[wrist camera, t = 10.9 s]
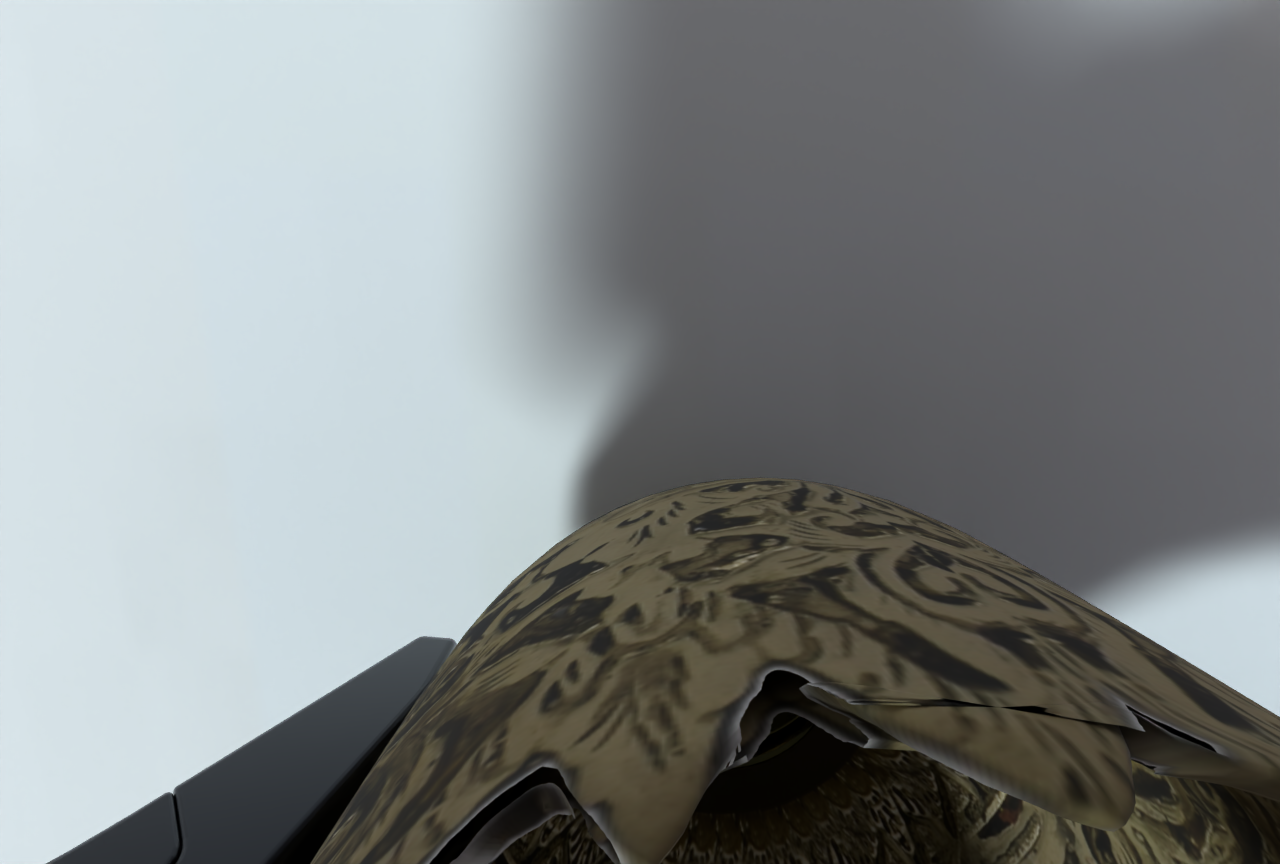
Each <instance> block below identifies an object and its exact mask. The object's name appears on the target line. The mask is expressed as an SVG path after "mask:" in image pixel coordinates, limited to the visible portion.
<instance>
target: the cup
mask: <svg viewBox="0 0 1280 864" xmlns="http://www.w3.org/2000/svg"><path fill="white" fill-rule="evenodd" d="M310 864H1280V717H1279V716H1277V715H1275V714H1274V713H1272V712H1270V711H1269V710H1267V709H1265V708H1264V707H1262V706H1260V705H1259V704H1257V703H1256V702H1254V701H1252V700H1251V699H1249V698H1247V697H1246V696H1244V695H1242V694H1241V693H1239V692H1237V691H1236V690H1234V689H1232V688H1231V687H1229V686H1227V685H1226V684H1224V683H1222V682H1221V681H1219V680H1217V679H1216V678H1214V677H1212V676H1211V675H1209V674H1207V673H1206V672H1204V671H1202V670H1201V669H1199V668H1197V667H1196V666H1194V665H1192V664H1191V663H1189V662H1187V661H1186V660H1184V659H1182V658H1181V657H1179V656H1177V655H1176V654H1174V653H1172V652H1171V651H1169V650H1167V649H1166V648H1164V647H1162V646H1161V645H1159V644H1157V643H1156V642H1154V641H1152V640H1151V639H1149V638H1147V637H1146V636H1144V635H1142V634H1141V633H1139V632H1137V631H1136V630H1134V629H1132V628H1131V627H1129V626H1127V625H1125V624H1124V623H1122V622H1120V621H1119V620H1117V619H1115V618H1114V617H1112V616H1110V615H1108V614H1107V613H1105V612H1103V611H1102V610H1100V609H1098V608H1097V607H1095V606H1093V605H1092V604H1090V603H1088V602H1086V601H1085V600H1083V599H1081V598H1080V597H1078V596H1076V595H1074V594H1073V593H1071V592H1069V591H1068V590H1066V589H1064V588H1062V587H1061V586H1059V585H1057V584H1055V583H1054V582H1052V581H1050V580H1049V579H1047V578H1045V577H1043V576H1042V575H1040V574H1038V573H1037V572H1035V571H1033V570H1031V569H1029V568H1028V567H1026V566H1024V565H1022V564H1020V563H1019V562H1017V561H1015V560H1013V559H1011V558H1010V557H1008V556H1006V555H1004V554H1002V553H1000V552H999V551H997V550H995V549H993V548H991V547H989V546H988V545H986V544H984V543H982V542H980V541H978V540H976V539H974V538H973V537H971V536H969V535H967V534H965V533H963V532H961V531H959V530H958V529H955V528H953V527H951V526H949V525H946V524H944V523H942V522H939V521H937V520H935V519H932V518H930V517H928V516H926V515H923V514H921V513H918V512H916V511H913V510H911V509H908V508H906V507H904V506H901V505H899V504H896V503H894V502H891V501H889V500H885V499H881V498H878V497H874V496H871V495H867V494H864V493H860V492H857V491H853V490H849V489H845V488H841V487H837V486H833V485H827V484H821V483H815V482H809V481H802V480H796V479H777V478H743V479H725V480H717V481H711V482H705V483H699V484H692V485H686V486H683V487H679V488H675V489H672V490H668V491H664V492H661V493H657V494H653V495H650V496H647V497H645V498H642V499H640V500H637V501H635V502H632V503H630V504H627V505H624V506H622V507H619V508H617V509H615V510H613V511H611V512H609V513H607V514H605V515H603V516H601V517H599V518H597V519H596V520H594V521H592V522H590V523H588V524H586V525H584V526H583V527H581V528H580V529H578V530H577V531H575V532H574V533H572V534H571V535H569V536H568V537H566V538H565V539H563V540H562V541H560V542H559V543H557V544H556V545H555V546H553V547H552V548H551V549H550V550H549V551H547V552H546V553H545V554H544V555H543V556H541V557H540V558H539V559H538V560H537V561H535V562H534V563H533V564H532V565H531V566H530V567H528V568H527V569H526V570H525V571H524V572H522V573H521V574H520V575H519V576H518V577H517V578H515V579H514V580H513V581H512V582H511V583H510V584H509V585H508V586H507V587H506V588H505V589H504V590H503V592H502V593H501V594H500V595H499V596H498V597H497V598H496V599H495V600H494V601H493V602H492V603H491V604H490V605H489V606H488V607H487V609H486V610H485V611H484V612H483V613H482V614H481V616H480V617H479V618H478V619H477V620H476V622H475V623H474V624H473V625H472V626H471V627H470V629H469V630H468V631H467V632H466V633H465V635H464V636H463V638H462V639H461V640H460V642H459V643H458V644H457V646H456V647H455V648H454V650H453V651H452V652H451V654H450V655H449V657H448V658H447V659H446V661H445V662H444V663H443V665H442V666H441V667H440V669H439V670H438V672H437V673H436V674H435V676H434V677H433V679H432V680H431V681H430V683H429V684H428V686H427V687H426V688H425V690H424V691H423V693H422V694H421V695H420V697H419V698H418V700H417V701H416V702H415V704H414V705H413V707H412V708H411V710H410V712H409V713H408V715H407V716H406V718H405V719H404V721H403V722H402V724H401V725H400V727H399V728H398V730H397V731H396V733H395V734H394V736H393V737H392V739H391V740H390V742H389V743H388V745H387V746H386V748H385V749H384V751H383V752H382V754H381V755H380V757H379V758H378V760H377V762H376V763H375V765H374V766H373V768H372V769H371V771H370V772H369V774H368V775H367V777H366V778H365V780H364V781H363V783H362V784H361V786H360V788H359V789H358V791H357V792H356V794H355V795H354V797H353V798H352V800H351V801H350V803H349V805H348V806H347V808H346V809H345V811H344V812H343V814H342V815H341V817H340V818H339V820H338V822H337V823H336V825H335V826H334V828H333V829H332V831H331V832H330V834H329V835H328V837H327V839H326V840H325V842H324V843H323V845H322V846H321V848H320V849H319V851H318V853H317V854H316V856H315V857H314V859H313V860H312V862H311V863H310Z"/></svg>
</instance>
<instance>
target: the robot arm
mask: <svg viewBox="0 0 1280 864" xmlns="http://www.w3.org/2000/svg"><path fill="white" fill-rule="evenodd" d="M456 646H457V644H456V642H455V641H454V640H453V639H450V638H439V637H427V636H423V637H419V638H417V639H416V640H414V641H412V642H411V643H409V644H407V645H406V646H404V647H403V648H401V649H399V650H398V651H396V652H394V653H393V654H391V655H390V656H388V657H386V658H385V659H383V660H381V661H380V662H378V663H377V664H375V665H373V666H372V667H370V668H368V669H367V670H365V671H364V672H362V673H360V674H359V675H357V676H355V677H354V678H352V679H351V680H349V681H347V682H346V683H344V684H342V685H341V686H339V687H338V688H336V689H334V690H333V691H331V692H329V693H328V694H326V695H325V696H323V697H321V698H320V699H318V700H316V701H315V702H313V703H312V704H310V705H308V706H307V707H305V708H303V709H302V710H300V711H299V712H297V713H295V714H294V715H292V716H290V717H289V718H287V719H286V720H284V721H282V722H281V723H279V724H277V725H276V726H274V727H273V728H271V729H269V730H268V731H266V732H264V733H263V734H261V735H260V736H258V737H256V738H255V739H253V740H252V741H250V742H248V743H247V744H245V745H243V746H242V747H240V748H239V749H237V750H235V751H234V752H232V753H230V754H229V755H227V756H226V757H224V758H222V759H221V760H219V761H217V762H216V763H214V764H213V765H211V766H209V767H208V768H206V769H204V770H203V771H201V772H200V773H198V774H196V775H195V776H193V777H191V778H190V779H188V780H187V781H185V782H183V783H182V784H180V785H178V786H177V787H176V788H175V789H174V791H173V794H172V793H170V792H168V793H165V794H163V795H162V796H160V797H158V798H157V799H155V800H154V801H152V802H150V803H149V804H147V805H145V806H144V807H142V808H141V809H139V810H137V811H136V812H134V813H132V814H131V815H129V816H127V817H126V818H124V819H122V820H121V821H119V822H117V823H116V824H114V825H112V826H111V827H109V828H107V829H105V830H104V831H102V832H100V833H99V834H97V835H95V836H94V837H92V838H90V839H88V840H87V841H85V842H83V843H82V844H80V845H78V846H77V847H75V848H73V849H71V850H70V851H68V852H66V853H64V854H63V855H61V856H59V857H57V858H55V859H53V860H52V861H50V862H48V863H46V864H310V863H311V862H312V860H313V859H314V857H315V856H316V854H317V853H318V851H319V849H320V848H321V846H322V845H323V843H324V842H325V840H326V839H327V837H328V835H329V834H330V832H331V831H332V829H333V828H334V826H335V825H336V823H337V822H338V820H339V818H340V817H341V815H342V814H343V812H344V811H345V809H346V808H347V806H348V805H349V803H350V801H351V800H352V798H353V797H354V795H355V794H356V792H357V791H358V789H359V788H360V786H361V784H362V783H363V781H364V780H365V778H366V777H367V775H368V774H369V772H370V771H371V769H372V768H373V766H374V765H375V763H376V762H377V760H378V758H379V757H380V755H381V754H382V752H383V751H384V749H385V748H386V746H387V745H388V743H389V742H390V740H391V739H392V737H393V736H394V734H395V733H396V731H397V730H398V728H399V727H400V725H401V724H402V722H403V721H404V719H405V718H406V716H407V715H408V713H409V712H410V710H411V708H412V707H413V705H414V704H415V702H416V701H417V700H418V698H419V697H420V695H421V694H422V693H423V691H424V690H425V688H426V687H427V686H428V684H429V683H430V681H431V680H432V679H433V677H434V676H435V674H436V673H437V672H438V670H439V669H440V667H441V666H442V665H443V663H444V662H445V661H446V659H447V658H448V657H449V655H450V654H451V652H452V651H453V650H454V648H455V647H456Z"/></svg>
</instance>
